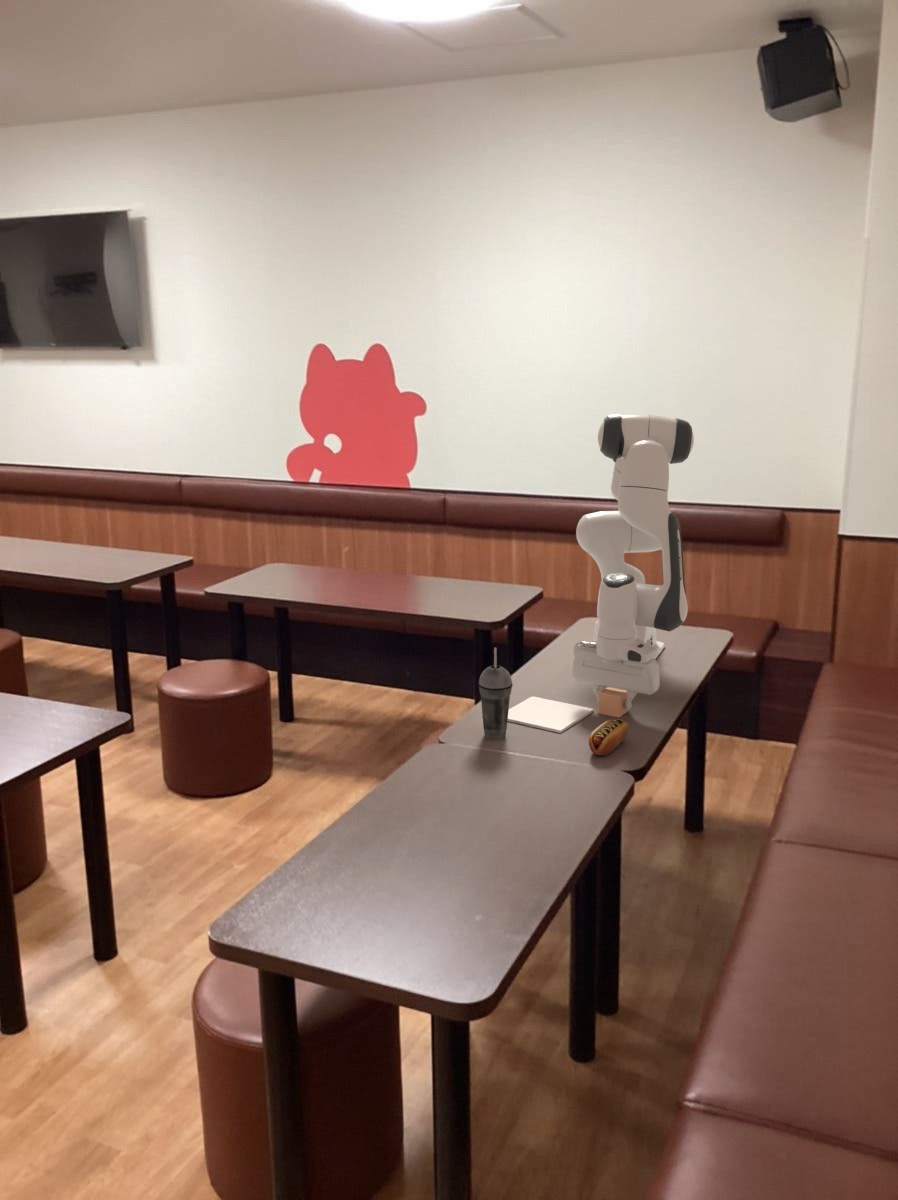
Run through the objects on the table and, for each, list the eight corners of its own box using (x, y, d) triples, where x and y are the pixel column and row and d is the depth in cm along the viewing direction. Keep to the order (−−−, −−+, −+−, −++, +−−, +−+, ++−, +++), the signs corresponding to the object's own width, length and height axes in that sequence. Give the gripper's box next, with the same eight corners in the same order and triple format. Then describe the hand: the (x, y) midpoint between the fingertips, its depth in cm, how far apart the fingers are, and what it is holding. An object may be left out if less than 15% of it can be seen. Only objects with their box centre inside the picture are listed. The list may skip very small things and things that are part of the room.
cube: (608, 707, 240) (609, 686, 239) (628, 711, 237) (629, 690, 236) (598, 713, 236) (599, 692, 235) (619, 717, 233) (619, 696, 232)
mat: (532, 698, 246) (532, 696, 246) (593, 711, 237) (593, 708, 237) (496, 718, 233) (496, 716, 233) (560, 733, 224) (560, 730, 224)
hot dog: (582, 756, 212) (583, 733, 211) (607, 736, 223) (608, 714, 222) (605, 761, 210) (606, 738, 208) (630, 740, 221) (630, 718, 219)
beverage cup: (512, 730, 226) (513, 641, 221) (511, 742, 219) (512, 651, 214) (479, 729, 227) (479, 640, 222) (476, 741, 220) (477, 650, 215)
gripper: (567, 642, 236) (566, 700, 240) (652, 657, 225) (649, 717, 228) (580, 636, 241) (579, 693, 245) (663, 650, 230) (661, 709, 234)
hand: (613, 705), depth 236 cm, fingers closed on cube, 5 cm apart
